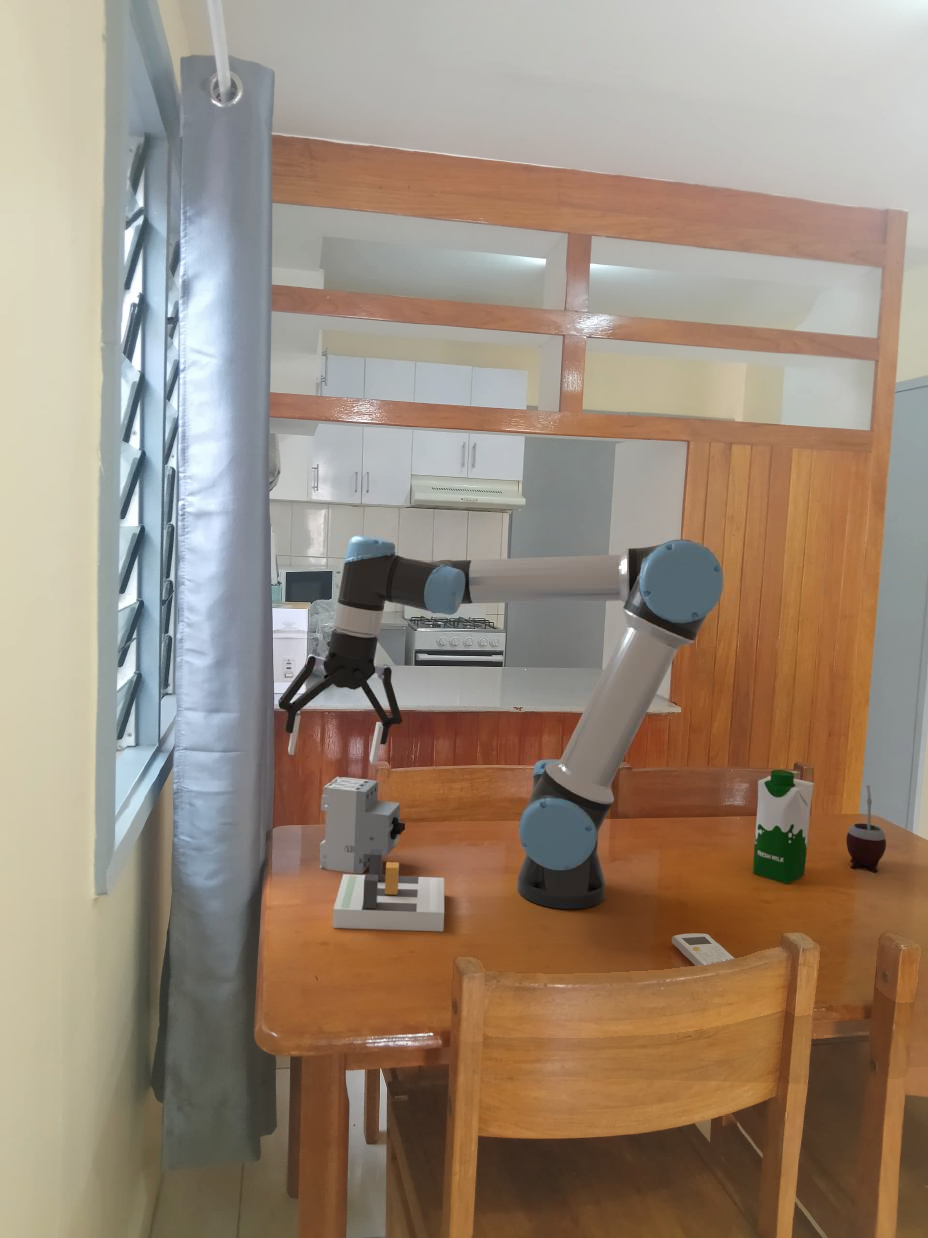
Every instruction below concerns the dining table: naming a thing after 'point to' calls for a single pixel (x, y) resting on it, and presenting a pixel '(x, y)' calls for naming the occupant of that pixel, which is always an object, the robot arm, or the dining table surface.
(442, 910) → the panel
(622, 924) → the dining table surface
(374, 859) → the block
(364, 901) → the block
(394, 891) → the block
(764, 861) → the milk carton
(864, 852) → the mate gourd
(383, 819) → the circuit breaker
